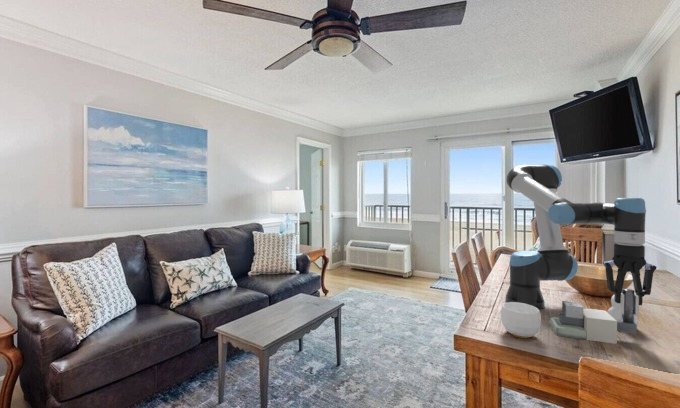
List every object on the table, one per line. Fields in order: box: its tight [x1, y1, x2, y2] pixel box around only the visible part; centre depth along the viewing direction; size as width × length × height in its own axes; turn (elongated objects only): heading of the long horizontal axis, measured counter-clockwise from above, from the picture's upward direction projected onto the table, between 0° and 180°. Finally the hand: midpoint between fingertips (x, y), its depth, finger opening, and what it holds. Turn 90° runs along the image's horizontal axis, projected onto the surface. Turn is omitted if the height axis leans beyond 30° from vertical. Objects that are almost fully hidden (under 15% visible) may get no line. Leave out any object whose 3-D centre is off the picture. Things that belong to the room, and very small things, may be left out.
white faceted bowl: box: [500, 302, 542, 339], centre depth 108 cm, size 12×12×10 cm
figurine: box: [607, 293, 638, 325], centre depth 114 cm, size 7×8×12 cm
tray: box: [549, 316, 586, 341], centre depth 110 cm, size 8×10×3 cm
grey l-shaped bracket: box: [558, 288, 638, 335], centre depth 107 cm, size 20×3×14 cm, turn 67°
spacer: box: [561, 300, 584, 319], centre depth 110 cm, size 5×5×4 cm
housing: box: [578, 307, 618, 345], centre depth 107 cm, size 8×10×8 cm
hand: (627, 313), depth 103 cm, fingers closed on grey l-shaped bracket, 3 cm apart
